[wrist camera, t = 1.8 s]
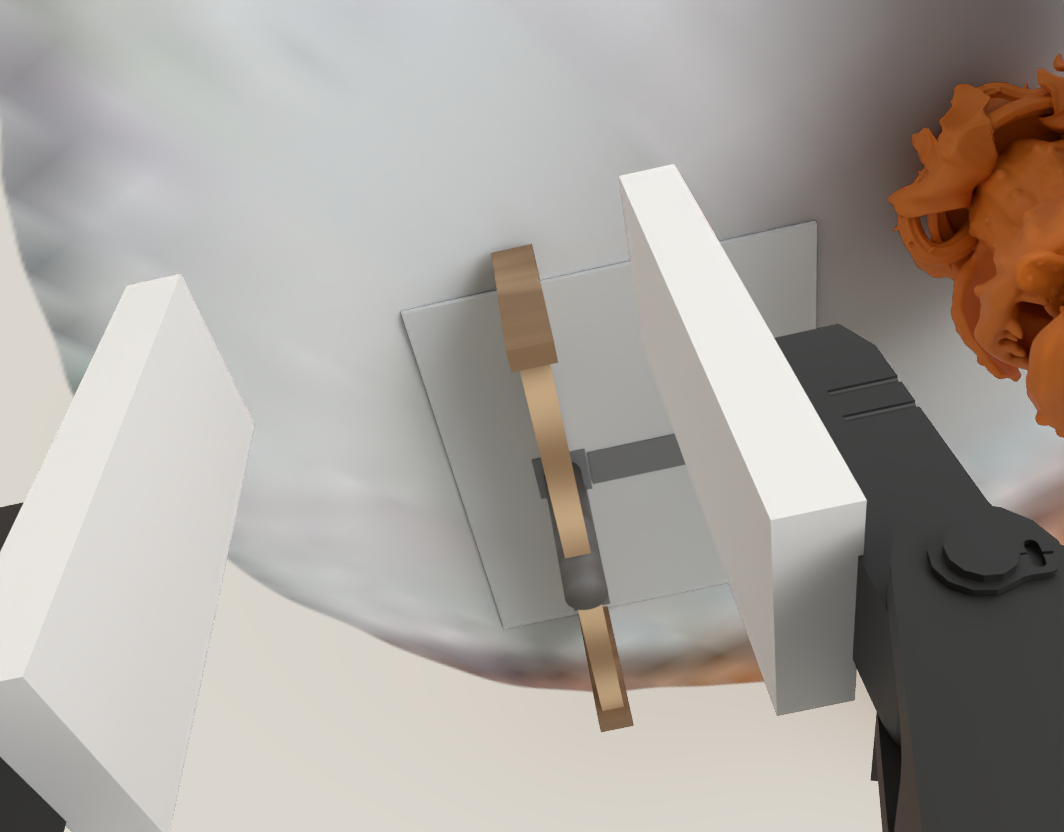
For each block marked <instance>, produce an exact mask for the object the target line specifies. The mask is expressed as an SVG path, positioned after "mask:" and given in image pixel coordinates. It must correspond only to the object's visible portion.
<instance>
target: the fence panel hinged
mask: <svg viewBox="0 0 1064 832" xmlns="http://www.w3.org/2000/svg"><path fill="white" fill-rule="evenodd" d="M491 255H492V262H493V269H494V275H495V282H496V289H497V295H498V302H499V309H500V315H501V322H502V329H503V335H504V342H505V348H506V354H507V358H508V362H509V366H510V370H511V373H513V372H517V371H520V374H521V378H522V382H523V386H524V390H525V395H526V399H527V403H528V407H529V411H530V415H531V419H532V424H533V428H534V432H535V436H536V440H537V444H538V448H539V452H540V457H541V461H542V465H543V469H544V473H545V477H546V481H547V486H548V490H549V494H550V498H551V502H552V506H553V510H554V515H555V519H556V523H557V527H558V531H559V535H560V539H561V543H562V548H563V552H564V556H565V559H566V558H570V557H575V556H580V555H585V554H589V553H591V551H590V546H589V542H588V537H587V532H586V528H585V523H584V518H583V514H582V509H581V504H580V500H579V495H578V490H577V486H576V481H575V476H574V472H573V467H572V462H571V458H570V453H569V448H568V444H567V439H566V434H565V430H564V425H563V420H562V416H561V411H560V406H559V402H558V397H557V392H556V388H555V383H554V378H553V374H552V369H551V364H554V363H558V359H557V354H556V349H555V344H554V339H553V335H552V331H551V326H550V322H549V317H548V313H547V309H546V304H545V300H544V295H543V291H542V287H541V282H540V278H539V273H538V269H537V265H536V260H535V256H534V251H533V247H532V244H530V245H526V246H521V247H517V248H512V249H508V250H503V251H499V252H494V253H491Z"/></svg>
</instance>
